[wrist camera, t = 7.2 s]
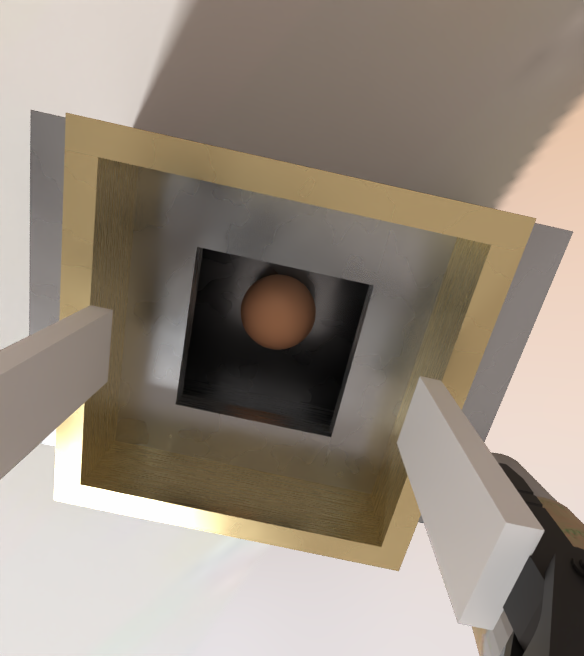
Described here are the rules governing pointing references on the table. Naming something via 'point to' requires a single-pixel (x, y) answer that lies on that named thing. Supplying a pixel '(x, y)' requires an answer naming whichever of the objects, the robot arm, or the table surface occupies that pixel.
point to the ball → (278, 312)
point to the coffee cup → (571, 526)
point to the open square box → (253, 359)
